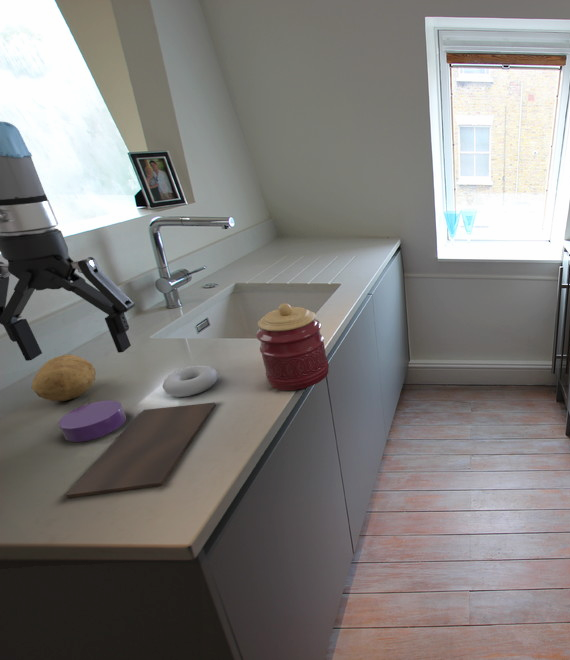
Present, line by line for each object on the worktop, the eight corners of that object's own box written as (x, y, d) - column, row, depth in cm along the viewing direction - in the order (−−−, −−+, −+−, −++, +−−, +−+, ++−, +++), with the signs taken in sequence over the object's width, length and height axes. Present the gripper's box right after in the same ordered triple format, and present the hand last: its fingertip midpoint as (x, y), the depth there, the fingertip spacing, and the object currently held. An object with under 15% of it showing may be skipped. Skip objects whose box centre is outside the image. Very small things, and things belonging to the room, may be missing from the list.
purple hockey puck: (52, 445, 79) (45, 431, 78) (84, 415, 87) (78, 403, 86) (109, 438, 80) (103, 425, 79) (136, 410, 88) (130, 397, 87)
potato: (101, 374, 102) (88, 343, 99) (103, 400, 92) (88, 366, 89) (43, 389, 96) (27, 356, 93) (38, 418, 86) (20, 382, 83)
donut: (213, 395, 94) (223, 372, 102) (209, 381, 92) (219, 359, 101) (158, 404, 91) (173, 379, 99) (153, 389, 89) (168, 366, 98)
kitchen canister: (328, 386, 96) (314, 311, 89) (263, 396, 93) (243, 318, 86) (330, 359, 108) (318, 291, 100) (273, 367, 104) (255, 296, 97)
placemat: (66, 498, 67) (65, 495, 67) (144, 412, 88) (143, 409, 88) (161, 485, 70) (160, 482, 69) (216, 404, 90) (215, 402, 90)
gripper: (-97, 240, 63) (-24, 371, 71) (105, 231, 68) (150, 355, 76) (-50, 229, 69) (11, 350, 78) (131, 222, 74) (169, 337, 83)
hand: (80, 353), depth 77 cm, fingers open, 13 cm apart
